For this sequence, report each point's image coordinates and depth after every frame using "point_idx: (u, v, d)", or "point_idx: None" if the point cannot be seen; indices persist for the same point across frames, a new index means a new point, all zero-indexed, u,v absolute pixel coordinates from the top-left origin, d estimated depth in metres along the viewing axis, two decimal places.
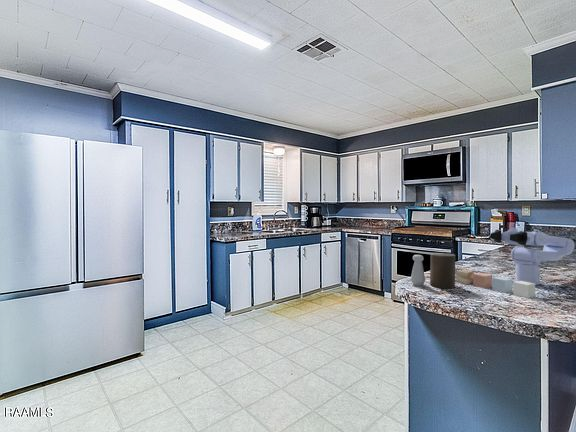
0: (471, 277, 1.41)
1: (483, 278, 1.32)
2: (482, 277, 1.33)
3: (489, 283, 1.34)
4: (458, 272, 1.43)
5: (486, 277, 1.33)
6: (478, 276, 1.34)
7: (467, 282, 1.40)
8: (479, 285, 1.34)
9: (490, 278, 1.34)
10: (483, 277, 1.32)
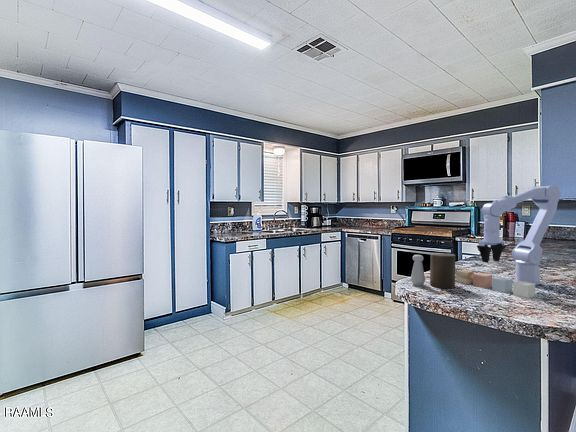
0: (471, 277, 1.41)
1: (483, 278, 1.32)
2: (482, 277, 1.33)
3: (489, 283, 1.34)
4: (458, 272, 1.43)
5: (486, 277, 1.33)
6: (478, 276, 1.34)
7: (467, 282, 1.40)
8: (479, 285, 1.34)
9: (490, 278, 1.34)
10: (483, 277, 1.32)
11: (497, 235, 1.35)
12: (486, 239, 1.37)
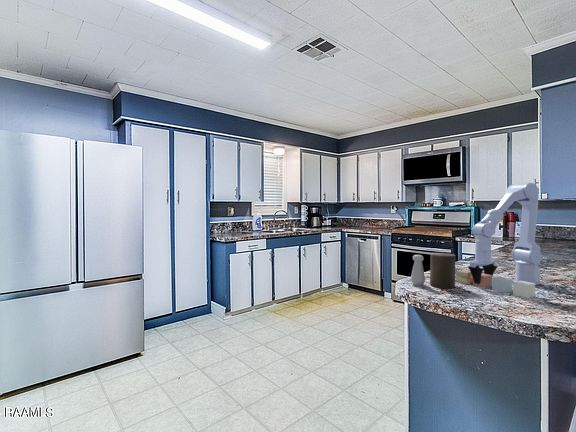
0: (471, 277, 1.41)
1: (483, 278, 1.32)
2: (482, 277, 1.33)
3: (489, 283, 1.34)
4: (458, 272, 1.43)
5: (486, 277, 1.33)
6: None
7: (467, 282, 1.40)
8: (479, 285, 1.34)
9: (490, 278, 1.34)
10: (483, 277, 1.32)
11: (488, 256, 1.32)
12: (477, 260, 1.34)
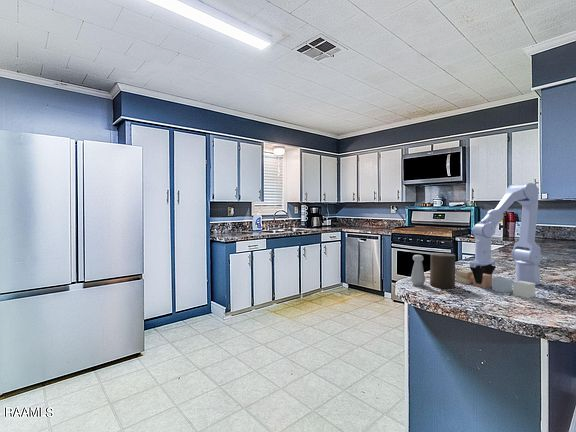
0: (471, 277, 1.41)
1: (483, 278, 1.32)
2: (482, 277, 1.33)
3: (489, 283, 1.34)
4: (458, 272, 1.43)
5: (486, 276, 1.33)
6: None
7: (467, 282, 1.40)
8: (479, 285, 1.34)
9: (490, 278, 1.34)
10: (483, 277, 1.32)
11: (488, 256, 1.32)
12: (477, 260, 1.34)
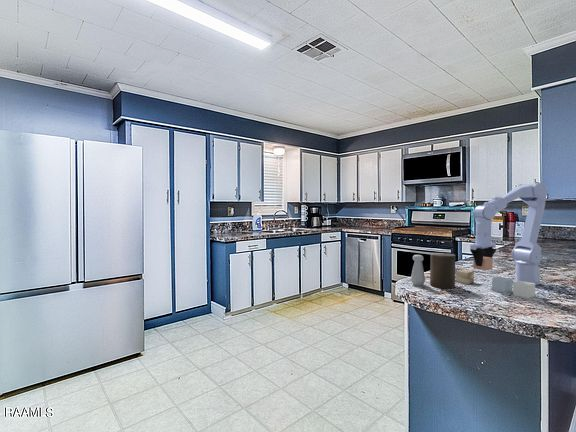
0: (471, 277, 1.41)
1: (484, 260, 1.32)
2: None
3: (489, 265, 1.33)
4: (458, 272, 1.43)
5: (487, 259, 1.32)
6: None
7: (467, 282, 1.40)
8: (479, 268, 1.34)
9: (491, 260, 1.34)
10: (483, 259, 1.32)
11: (489, 238, 1.32)
12: (478, 242, 1.34)
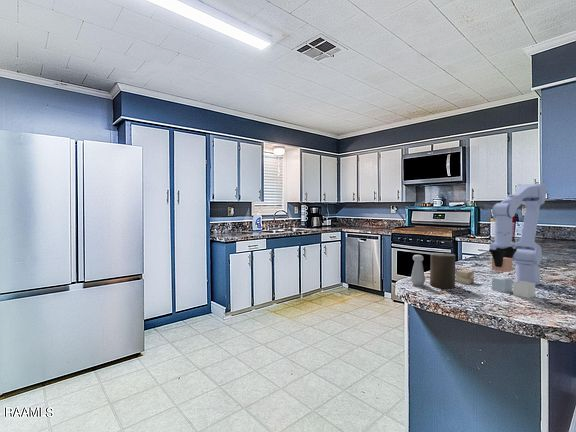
0: (471, 277, 1.41)
1: (503, 261, 1.25)
2: None
3: (509, 266, 1.26)
4: (458, 272, 1.43)
5: (506, 260, 1.25)
6: None
7: (467, 282, 1.40)
8: (499, 269, 1.27)
9: (510, 261, 1.27)
10: (503, 260, 1.25)
11: (509, 238, 1.25)
12: (497, 242, 1.27)
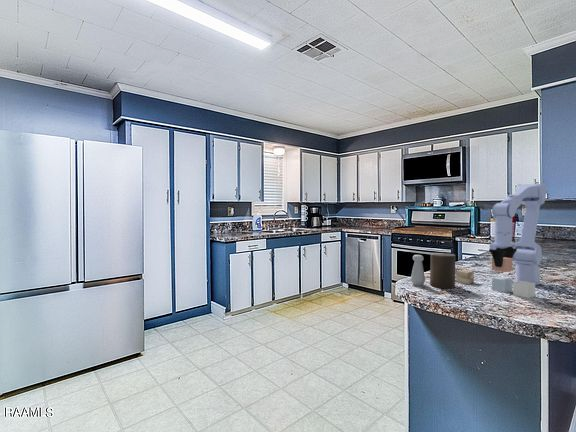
0: (471, 277, 1.41)
1: (503, 261, 1.25)
2: None
3: (509, 266, 1.26)
4: (458, 272, 1.43)
5: (506, 260, 1.25)
6: None
7: (467, 282, 1.40)
8: (499, 269, 1.27)
9: (510, 261, 1.27)
10: (503, 260, 1.25)
11: (509, 238, 1.25)
12: (497, 242, 1.27)
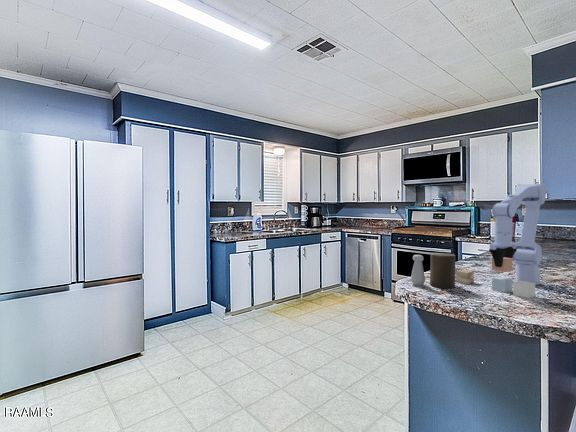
0: (471, 277, 1.41)
1: (503, 261, 1.25)
2: None
3: (509, 266, 1.26)
4: (458, 272, 1.43)
5: (506, 260, 1.25)
6: None
7: (467, 282, 1.40)
8: (499, 269, 1.27)
9: (510, 261, 1.27)
10: (503, 260, 1.25)
11: (509, 238, 1.25)
12: (497, 242, 1.27)
